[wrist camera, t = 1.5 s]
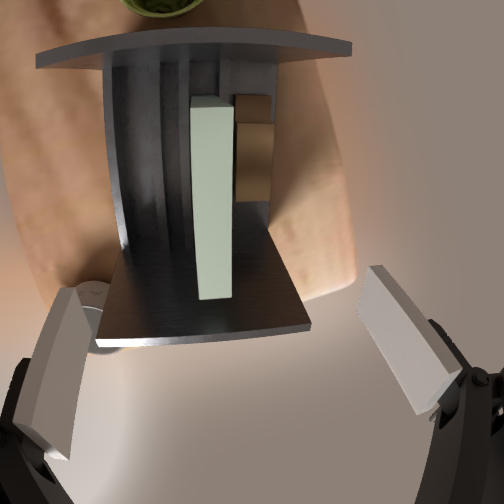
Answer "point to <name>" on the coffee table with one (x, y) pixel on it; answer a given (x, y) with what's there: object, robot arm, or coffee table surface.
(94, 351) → the teacup
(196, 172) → the sage panel
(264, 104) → the offcut lower
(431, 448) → the robot arm
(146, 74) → the rack
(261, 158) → the offcut upper
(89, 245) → the coffee table surface
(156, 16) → the plant pot
